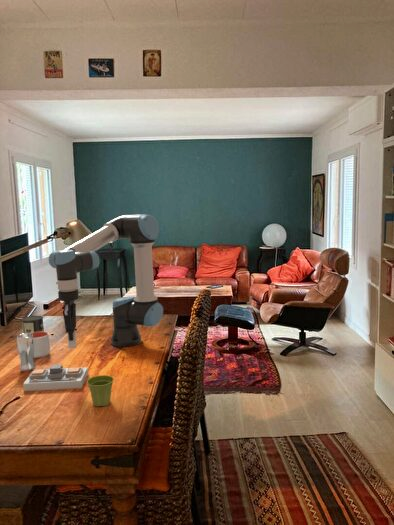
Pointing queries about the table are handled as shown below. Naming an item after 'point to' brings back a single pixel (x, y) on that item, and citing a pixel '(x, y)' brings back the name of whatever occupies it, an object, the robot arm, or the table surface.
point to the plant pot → (100, 389)
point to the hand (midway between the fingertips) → (72, 347)
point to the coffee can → (32, 324)
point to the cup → (41, 344)
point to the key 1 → (38, 372)
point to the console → (56, 380)
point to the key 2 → (74, 370)
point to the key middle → (56, 368)
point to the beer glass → (26, 351)
